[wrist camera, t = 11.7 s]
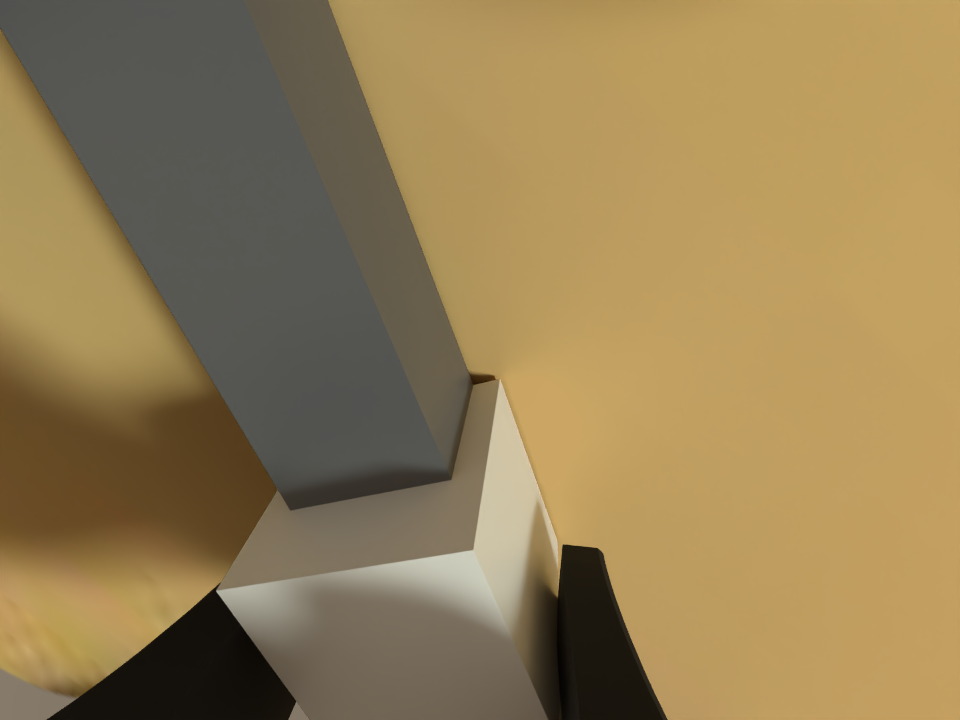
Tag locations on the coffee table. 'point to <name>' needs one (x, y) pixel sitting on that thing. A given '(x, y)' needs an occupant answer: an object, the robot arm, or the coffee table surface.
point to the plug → (315, 353)
